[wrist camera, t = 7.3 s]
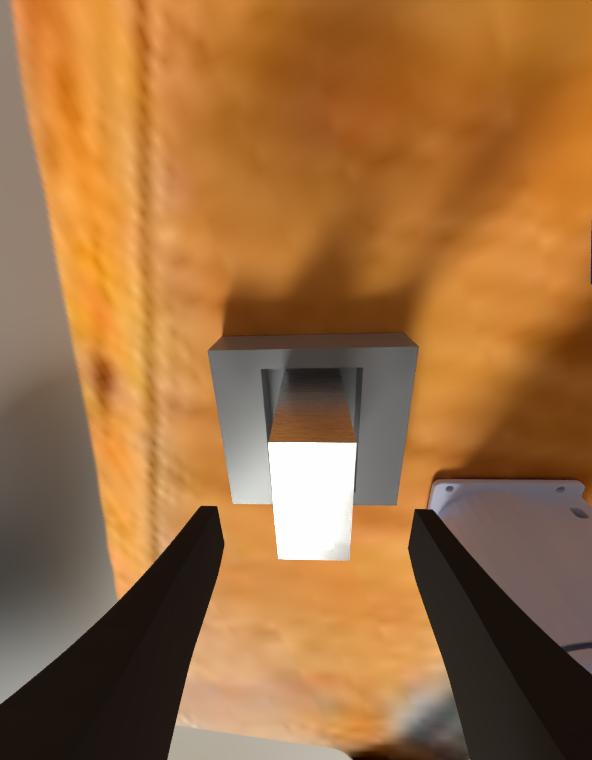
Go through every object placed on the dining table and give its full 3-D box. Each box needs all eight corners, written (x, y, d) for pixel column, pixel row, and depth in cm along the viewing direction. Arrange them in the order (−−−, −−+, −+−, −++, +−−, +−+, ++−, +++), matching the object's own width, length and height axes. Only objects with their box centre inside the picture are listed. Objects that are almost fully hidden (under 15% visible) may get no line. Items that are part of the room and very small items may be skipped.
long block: (339, 366, 16) (356, 442, 10) (336, 454, 19) (349, 560, 12) (284, 367, 16) (268, 442, 10) (289, 453, 19) (278, 558, 13)
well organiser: (403, 332, 16) (418, 346, 14) (386, 476, 20) (396, 505, 18) (221, 336, 17) (207, 350, 14) (241, 475, 21) (233, 503, 18)
